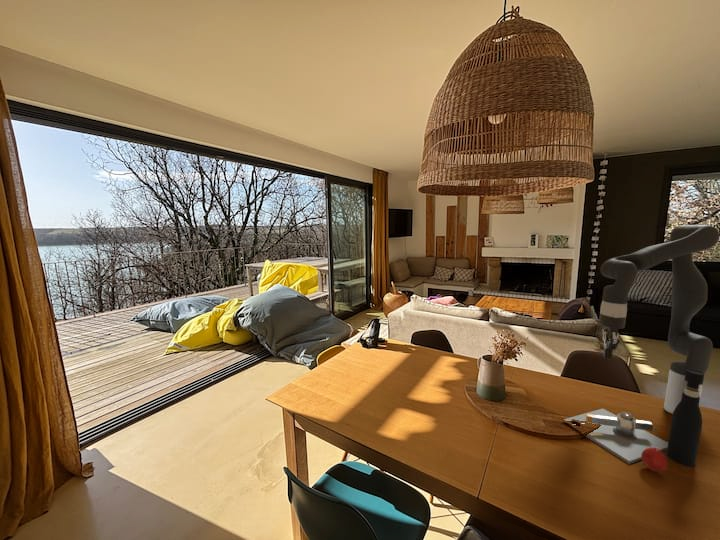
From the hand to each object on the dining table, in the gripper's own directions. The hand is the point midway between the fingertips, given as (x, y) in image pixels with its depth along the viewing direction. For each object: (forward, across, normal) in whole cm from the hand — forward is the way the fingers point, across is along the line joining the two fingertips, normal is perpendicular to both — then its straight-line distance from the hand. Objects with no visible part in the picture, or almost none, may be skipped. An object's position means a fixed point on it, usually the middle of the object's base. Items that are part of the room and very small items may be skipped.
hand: (607, 357), depth 115 cm
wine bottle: (+25, +15, +18) cm, 34 cm away
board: (+25, +9, +2) cm, 27 cm away
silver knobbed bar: (+24, +10, +3) cm, 26 cm away
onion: (+25, +25, +8) cm, 36 cm away
